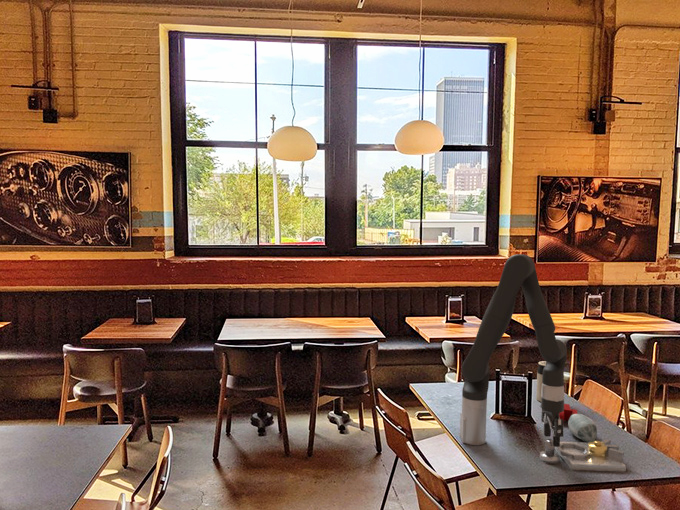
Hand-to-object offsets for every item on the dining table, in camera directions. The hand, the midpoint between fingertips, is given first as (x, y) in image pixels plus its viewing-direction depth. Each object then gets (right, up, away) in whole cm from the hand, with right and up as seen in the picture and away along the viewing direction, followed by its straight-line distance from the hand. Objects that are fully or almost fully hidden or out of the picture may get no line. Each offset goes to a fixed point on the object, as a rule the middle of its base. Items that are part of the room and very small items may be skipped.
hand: (551, 441), depth 182 cm
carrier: (+13, -7, +2) cm, 15 cm away
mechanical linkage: (+22, -5, +38) cm, 45 cm away
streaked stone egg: (+20, -6, +20) cm, 30 cm away
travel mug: (+22, -3, +61) cm, 65 cm away
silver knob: (-1, -7, 0) cm, 7 cm away
